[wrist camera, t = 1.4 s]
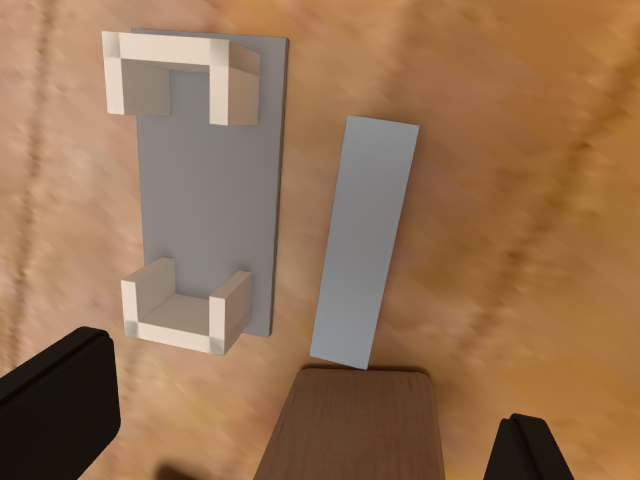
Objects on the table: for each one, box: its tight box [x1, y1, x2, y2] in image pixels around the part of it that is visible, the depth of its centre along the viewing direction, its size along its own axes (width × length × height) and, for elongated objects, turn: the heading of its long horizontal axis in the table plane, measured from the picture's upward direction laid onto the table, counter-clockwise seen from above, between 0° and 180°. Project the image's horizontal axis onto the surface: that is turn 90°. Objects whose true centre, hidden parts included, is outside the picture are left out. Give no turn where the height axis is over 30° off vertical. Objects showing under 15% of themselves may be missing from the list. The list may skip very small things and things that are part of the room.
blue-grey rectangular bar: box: [310, 115, 420, 370], centre depth 23 cm, size 14×4×5 cm, turn 172°
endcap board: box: [102, 28, 289, 356], centre depth 24 cm, size 10×20×5 cm, turn 175°
